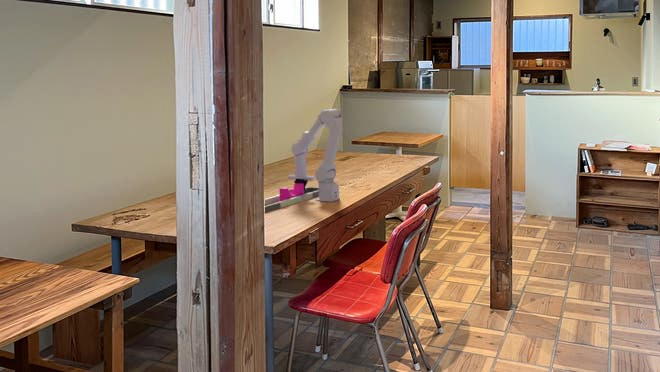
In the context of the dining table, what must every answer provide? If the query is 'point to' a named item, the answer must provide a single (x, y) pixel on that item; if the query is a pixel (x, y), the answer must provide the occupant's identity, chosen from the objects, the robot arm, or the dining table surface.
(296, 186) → the toy block
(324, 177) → the robot arm
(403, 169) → the dining table surface
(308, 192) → the long grey tray strip
